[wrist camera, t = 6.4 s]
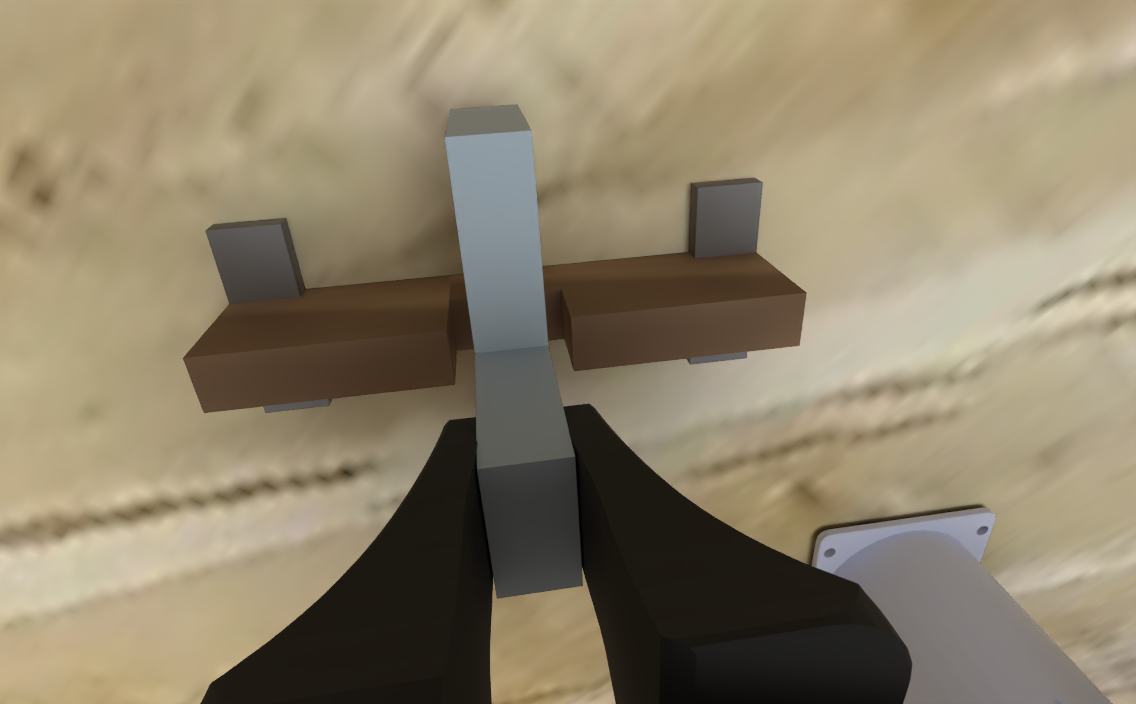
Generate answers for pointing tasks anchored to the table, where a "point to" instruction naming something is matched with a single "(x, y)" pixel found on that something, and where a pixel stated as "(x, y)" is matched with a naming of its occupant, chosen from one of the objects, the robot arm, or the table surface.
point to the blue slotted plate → (497, 222)
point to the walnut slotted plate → (442, 322)
